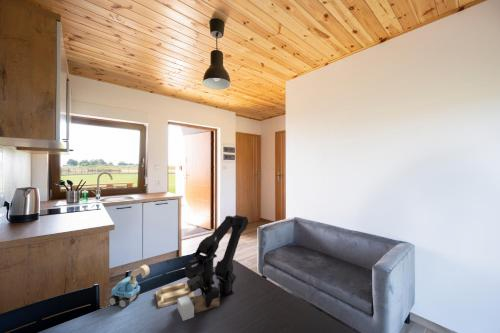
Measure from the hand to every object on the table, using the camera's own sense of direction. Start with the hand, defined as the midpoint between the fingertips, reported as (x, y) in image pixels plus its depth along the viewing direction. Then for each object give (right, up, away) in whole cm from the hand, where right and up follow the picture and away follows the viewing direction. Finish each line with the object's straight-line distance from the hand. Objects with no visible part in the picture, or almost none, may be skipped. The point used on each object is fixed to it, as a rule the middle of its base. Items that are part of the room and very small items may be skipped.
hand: (205, 303), depth 97 cm
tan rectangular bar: (0, -1, 0) cm, 1 cm away
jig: (-16, -1, +7) cm, 18 cm away
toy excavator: (-35, 0, +1) cm, 35 cm away
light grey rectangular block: (-8, -1, -4) cm, 9 cm away
